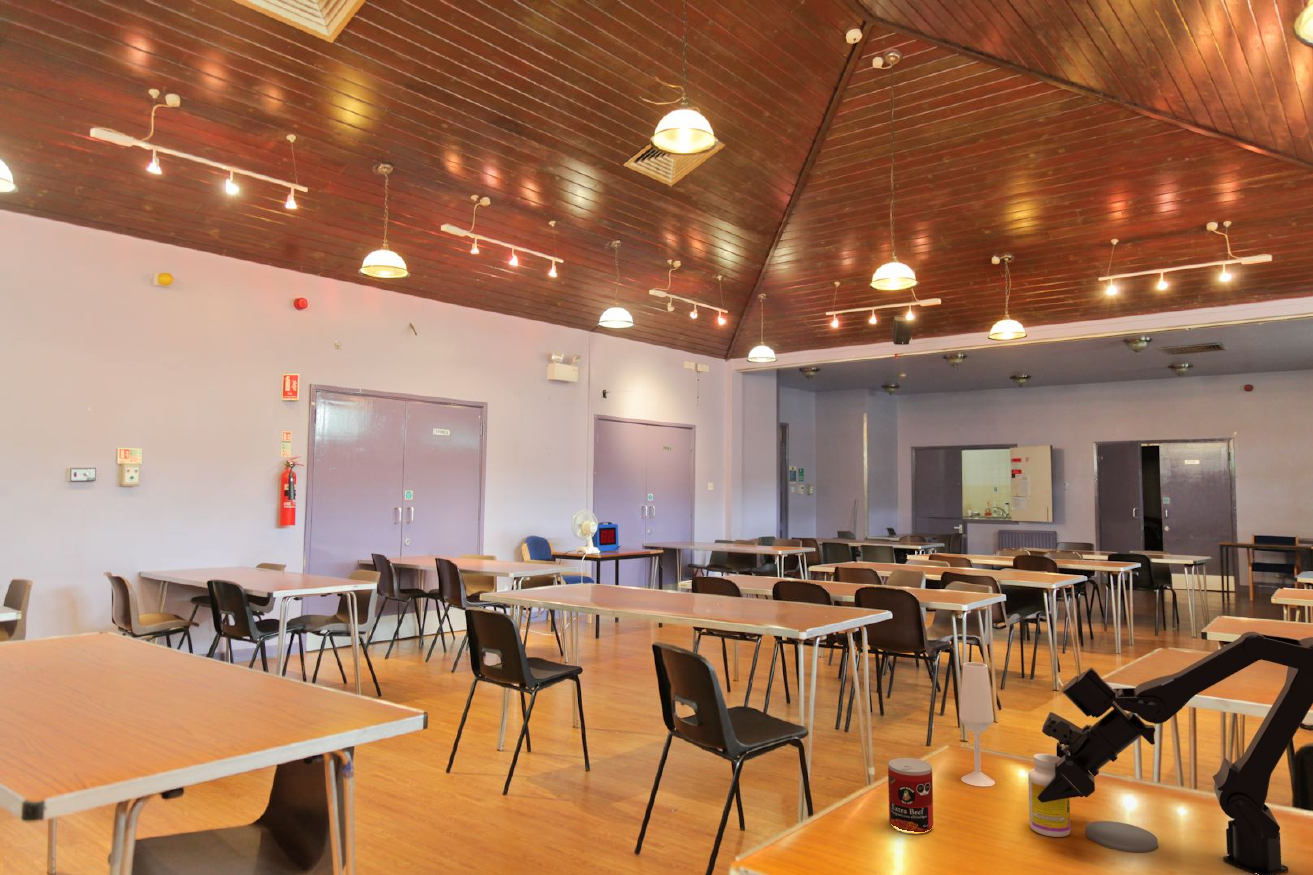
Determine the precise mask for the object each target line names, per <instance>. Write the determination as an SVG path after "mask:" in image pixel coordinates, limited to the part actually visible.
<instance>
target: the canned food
mask: <svg viewBox="0 0 1313 875" xmlns="http://www.w3.org/2000/svg"><path fill="white" fill-rule="evenodd" d="M887 769H888V771H887V774H888V775H887V776H888V777H887V778H888V779H887V780H888V781H887V782H888V786H887V787H888V820H889V824H890V823H891V824H892V825H893V826H896V827H898V828H899V829H902V830H907V831H914V832H925V831H927V830H930V829H931V828H932V829H933V827H932V826H933V825H934V796H933V794H934V792H933V791H934V790H933V766H932V764H931V763H929V762H927V761H925V760H922V759H919V758H913V757H898V758H893V759H891V760H889V761H888V768H887ZM891 824H890V825H891ZM932 829H931V830H932Z"/></svg>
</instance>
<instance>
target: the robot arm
mask: <svg viewBox="0 0 1313 875" xmlns="http://www.w3.org/2000/svg"><path fill="white" fill-rule="evenodd" d="M1258 661H1265V662H1270V663H1274V664H1278V665H1280V666H1281V665H1282V666H1285V667H1287V672H1286V678H1285V682H1284V685H1283V686H1282V688H1281V690H1280V692H1279V694H1278V696H1277V697H1276V699H1275V700H1274V701H1273V704H1272V705H1271V707H1270V708H1269V710H1268V712H1267V714H1266V715H1265V717H1264V719H1263V720H1262V723H1261V724H1260V726H1258V727H1259V728H1257V731H1256V733H1255V734H1254V736H1253V738H1252V740H1251V741H1250V743H1249V745H1248V746H1247V748H1246V750H1245V752H1244V753H1243V755H1241V757H1239V758H1238V759H1237V760H1236V761H1234V762H1232V761H1230V760H1229V759H1227V758H1226V757H1224V758H1223V760H1222V763H1221V765H1220V768H1219V770H1218V771H1217V773H1215V774H1214V775H1213V776H1212V779H1213V781H1214V785H1213V792H1214V794H1215V796H1216V798H1217V800H1218V803H1219V805H1220V808H1221V810H1222V811H1223V813H1224V814H1225V815H1226V816H1227V817H1229V818H1230V820H1228V821H1227V828H1226V829H1225V835H1226V836H1225V837H1226V854H1227V855H1225V856H1222V861H1224V862H1226V863H1228V864H1231V865H1233V866H1235V867H1238V868H1240V869H1243V870H1245V871H1247V870H1248V872H1249V871H1250V873H1251V874H1254V873H1257V874H1259V875H1270V874H1271V875H1272V874H1273V875H1277V874H1281V873H1284V872H1288V871H1289V867H1288V866H1287V865H1285V864H1282V850H1281V849H1282V848H1281V832H1280V830H1281V826H1280V824H1279V822H1278V821H1277V819H1276V818H1275V816H1274V815H1273V812H1272V810H1271V809H1270V807H1268V805H1267V804H1265V803H1266V801H1267V798H1268V794H1269V788H1270V780H1271V776H1272V774H1273V772H1274V770H1275V768H1276V767H1277V765H1278V764H1279V762H1280V760H1281V759H1282V757H1283V755H1284V753H1285V751H1286V750H1287V748H1288V747H1289V745H1290V743H1291V741H1292V740H1293V738H1294V736H1295V735H1296V733H1297V731H1298V729H1299V728H1300V727H1301V725H1302V723H1303V721H1304V720H1305V718H1306V717H1307V714H1308V713H1309V712H1310V709H1311V708H1312V706H1313V637H1312V636H1310V637H1305V638H1301V639H1296V638H1292V637H1291V638H1290V637H1284V636H1277V635H1270V634H1269V635H1268V634H1264V633H1260V632H1256V631H1247V632H1244V633H1242V634H1241V635H1240V636H1239V637H1237V639H1235V640H1233V641H1232V642H1230V643H1228V644H1226V645H1224V646H1222V647H1221V648H1219V649H1216V651H1213V652H1211V653H1210V654H1208V655H1207V656H1205V657H1202V658H1201V659H1200V660H1198V661H1196V662H1194V663H1192V664H1190V665H1189V666H1187V667H1184V668H1183V669H1182V670H1179V671H1178V672H1176V673H1172V674H1168V675H1163V676H1159V677H1156V678H1152V679H1150V680H1147V681H1145V682H1144V681H1143V682H1142V683H1139V684H1138V685H1137V686H1136V687H1121V688H1120V687H1119V688H1117V687H1116V688H1112V687H1111V686H1110V685H1109V683H1107V682H1106V681H1105V680H1104V679H1103V678H1102V677H1101V676H1100V674H1099V673H1098V672H1097V670H1095V668H1093V667H1089V668H1088V669H1087V670H1085V671H1082V672H1081V673H1080V674H1079V675H1076V676H1074V677H1073V678H1071V679H1070V680H1069V681H1068V682H1067V683H1066V684H1065V685H1064V686H1063V688H1062V689H1061V693H1062V694H1063V695H1064V696H1065V697H1066V698H1067V699H1069V701H1071V703H1072V704H1074V706H1076V708H1077V709H1078V710H1079V711H1081V712H1082V714H1084V715H1085V716H1086V717H1090V716H1091V717H1092V718H1096V719H1098V718H1100V717H1101V718H1100V719H1099V720H1098V721H1096V722H1095V723H1094V724H1092V725H1091V724H1089V725H1088V724H1086V725H1085V726H1083V727H1082V728H1081V726H1078V725H1076V724H1075V723H1073V722H1071V721H1070V720H1068V719H1066V718H1064V717H1062V716H1060V715H1058V714H1056V713H1055V712H1053V711H1049V713H1048V716H1046V719H1045V721H1044V724H1043V725H1042V728H1041V732H1042V733H1043V735H1046V736H1048V737H1049V738H1050V737H1051V738H1053V739H1055V740H1057V741H1058V742H1056V746H1055V747H1056V749H1055V750H1056V756H1058V757H1060V758H1061V759H1060V760H1059V761H1058V762H1057V763H1055V776H1054V777H1053V779H1052V780H1051V781H1050V782H1049V783H1048V785H1047V786H1046V787H1045V788H1044V789H1043V790H1042V792H1041V793H1040V794H1039V795H1038V797H1037V798H1038V800H1039V801H1040V802H1042V803H1044V802H1049V801H1054V800H1060V799H1066V798H1069V799H1072V798H1083V797H1085V798H1088V797H1089V796H1091V795H1092V794H1093V793H1095V791H1096V788H1095V777H1096V776H1097V775H1099V774H1100V769H1101V768H1103V767H1104V766H1105V765H1107V764H1108V763H1109V762H1110V761H1111V762H1112V763H1114V762H1116V761H1117V760H1118V755H1119V754H1121V753H1122V752H1123V751H1124V750H1126V749H1127V748H1128V747H1129V746H1131V745H1132V744H1133V743H1135V742H1136V741H1137V740H1138V739H1140V738H1141V737H1143V738H1144V740H1146V742H1148V743H1149V745H1152V746H1153V745H1155V743H1156V742H1155V732H1156V727H1155V725H1160V724H1163V723H1165V722H1167V721H1169V720H1170V719H1171V718H1173V717H1174V716H1175V715H1176V714H1177V713H1178V712H1179V711H1181V710H1182V709H1183V708H1184V706H1185V705H1186V704H1187V703H1189V701H1190V700H1191V699H1192V698H1194V697H1195V696H1196V695H1198V694H1199V693H1202V692H1203V691H1206V689H1209V688H1211V687H1212V686H1215V685H1216V684H1218V683H1220V682H1222V681H1223V680H1226V679H1227V678H1229V677H1231V676H1233V675H1235V674H1236V673H1238V672H1240V671H1242V670H1244V669H1245V668H1247V667H1249V666H1251V665H1253V664H1255V663H1256V662H1258ZM1111 708H1113V709H1111ZM1110 709H1111V710H1110ZM1108 710H1110V711H1108ZM1106 712H1107V713H1106ZM1104 714H1105V715H1104ZM1136 714H1137V715H1136ZM1103 715H1104V716H1103ZM1102 716H1103V717H1102ZM1138 716H1139V717H1138ZM1142 720H1143V721H1145V722H1146V723H1150V724H1146V723H1145V722H1143V721H1142ZM1153 724H1155V725H1153Z"/></svg>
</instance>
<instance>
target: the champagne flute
mask: <svg viewBox="0 0 1313 875" xmlns="http://www.w3.org/2000/svg"><path fill="white" fill-rule="evenodd" d="M961 677H962V680H961V690H960V691H961V692H960V707H959V719H960V721H961V722H962V724H963V725H964V726H965V727H966V728H967V729H968V731H970V732H971V733H973V745H974V746H973V747H974V749H973V750H974V751H973V753H974V754H973V758H974V771H972V772H970V773H968V774H965V775H963V776H962V777H961V778H960V780H961V781H962V782H964V783H965V784H968V785H970V786H976V787H991V786H994V785H996V782H995V780H994V779H993V778H991V777H989V776H988V775H986V774H985V773H984V772H982V771H981V770H982V769H981V767H982V765H981V764H982V763H981V734H983V733H984V732H986V731H987V730H988V729H989V728H990V727H991V725H993V722H994V719H995V718H994V711H993V703H992V695H991V694H992V693H991V687H990V678H989V669H988V664H987V663H982V662H971V661H970V662H963V664H962V676H961Z"/></svg>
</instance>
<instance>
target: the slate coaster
mask: <svg viewBox="0 0 1313 875" xmlns="http://www.w3.org/2000/svg"><path fill="white" fill-rule="evenodd" d="M1085 834H1086V836H1087V838H1089V839H1090V840H1091V841H1093V842H1094V843H1096V844H1099V845H1102V846H1103V847H1106V848H1110V849H1112V850H1116V851H1117V850H1118V851H1121V852H1122V851H1123V852H1128V853H1150V852H1153V851H1155V850H1158V849H1157V848H1158V847H1159V840H1158V838H1157V836H1156V835H1155V834H1153V833H1152V832H1151V831H1149V830H1147V829H1144V828H1142V827H1140V826H1137V825H1133V824H1129V823H1125V822H1119V821H1112V820H1111V821H1110V820H1098V821H1092V822H1089V823H1088V824H1087V825H1086V826H1085Z"/></svg>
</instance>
